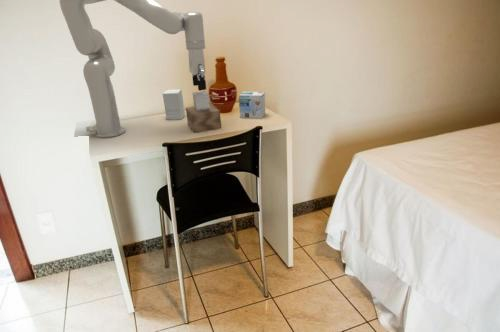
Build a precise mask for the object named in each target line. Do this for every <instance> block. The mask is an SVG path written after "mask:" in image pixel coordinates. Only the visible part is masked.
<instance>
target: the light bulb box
mask: <svg viewBox="0 0 500 332" xmlns="http://www.w3.org/2000/svg"><path fill="white" fill-rule="evenodd" d="M265 95H266V93H265V91H242V92H240V93H239V94H238V103H239V104H238V106H239V107H238V108H239V118H240V119H241V118H242V119H243V118H244V119H257V120H258V119H263V118H264V116H266V98H265V97H266V96H265Z"/></svg>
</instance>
